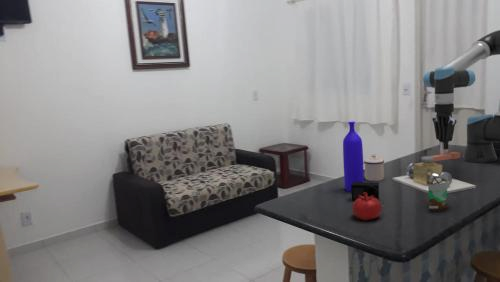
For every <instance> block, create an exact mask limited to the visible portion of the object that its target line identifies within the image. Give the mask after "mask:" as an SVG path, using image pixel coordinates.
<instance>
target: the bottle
mask: <svg viewBox="0 0 500 282" xmlns="http://www.w3.org/2000/svg"><path fill="white" fill-rule="evenodd" d="M347 123H348V125H349V126H348V127H349V131H348V132H347V134H345V136H344V137H343V139H342V140H343V141H342V157H343V158H342V159H343V160H342V163H343V180H344V189H345V190H346V192H349V193H351V184H352V182H365V173H364V170H365V168H364V164H363V162H364V152H363V151H364V149H363V140H362V138H361V136H360V135H359V134H358V133H357V132H356V131H355V123H356V121H353V120H352V121H348V122H347Z"/></svg>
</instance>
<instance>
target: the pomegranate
mask: <svg viewBox="0 0 500 282" xmlns="http://www.w3.org/2000/svg"><path fill="white" fill-rule="evenodd" d="M363 194H364V197H363V196H361V195H359V196H360V197H359V198H358V199H356V200H355V201H353V204H352V209H351V210H352V213H353V215H354V216H355V218H356V219H359V220H362V221H370V220H374V219H376V218H378V217H380V215H381V213H382V211H383V210H382V209H383V207H382V204H381V202H380V199H379V200H378V199H376V198H374V197H372V196H370V197H367V193H366V192H364V193H363Z"/></svg>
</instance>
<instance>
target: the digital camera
mask: <svg viewBox="0 0 500 282" xmlns="http://www.w3.org/2000/svg"><path fill="white" fill-rule="evenodd" d="M364 192H366V193H367V197H370V196H372V197H374V198H376V199H378V200H379V201H380V183H379V182H374V181H370V182H367V181H366V182H365V181H364V182H352V184H351V192H350V194H351V202H355V200H356V199H358V198H359V197H360V196H359V195H361V196H363V197H364V194H363V193H364Z"/></svg>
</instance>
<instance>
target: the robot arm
mask: <svg viewBox="0 0 500 282" xmlns="http://www.w3.org/2000/svg"><path fill="white" fill-rule="evenodd" d="M497 55H498V56H499V55H500V30H495V31H492V32H490V33H488V34H486V35H484V36H482V37H481V38H479V39H477V40H476V41H475V42H473V43H472V45H471V47H469V48H468V49H466V50H465V51H463V52H461V53H460V54H459V55H457V56H456V57H454V58H453V59H451V60H449V61H448V62H447V63H445V64H444V65H442V66H440V67H436V68H435V69H434V71H433V70H431V71H427V72H426V73H424V75H423V77H422V82H423V85H424V86H425V87H426V88H432V89H434V103H435V104H434V113H436V114H435V117H432V122H433V126H434V133H435V139H436V140H437V141H439V155H440V154H446V153H448V152H449V142H452V141H453V138H454V137H453V136H454V133H455V128H456V127H455V126H456V124H457V120H456V119H454V118H453V115H452V113H454V110H455V105H454V102H455V92H454V91H455V89H458V88H459V89H460V88H467V87H471V86H473V85H474V83H475V82H476V74H475V71H473V70H471V69H468V68H470V67H472V66H473V65H474V64H476V63H478V62H479V61H480V60H485V59H487V58H488V57H491V56H497ZM498 103H499V104H498V110H497V112H495V113H494V114H493V113H492V114H481V115H472V116H469V117H468V118H467V123H466V147H465V149H464V152H463V154H462V160H464V161H466V162H468V163H478V164H479V163H480V164H481V163H482V164H484V163H493V162H496V161H497V160H498V157H497V156H498V155H497V154H496V151H495V148H494V143H500V100H499V102H498Z"/></svg>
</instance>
